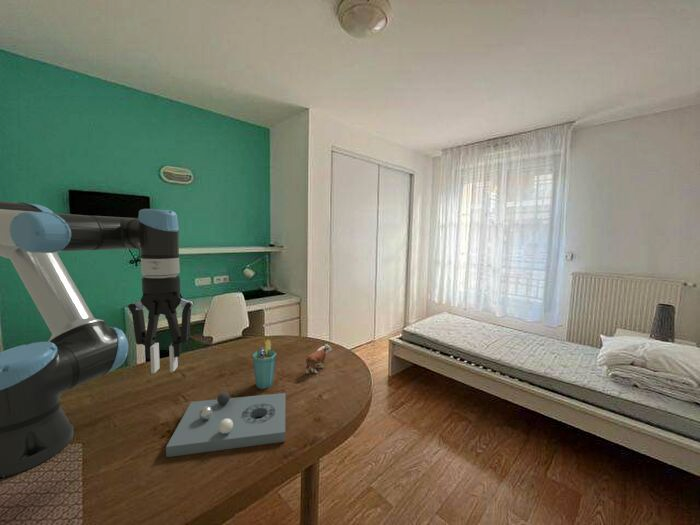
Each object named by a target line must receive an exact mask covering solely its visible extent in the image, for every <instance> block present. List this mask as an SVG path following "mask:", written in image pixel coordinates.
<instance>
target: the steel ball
mask: <svg viewBox="0 0 700 525" xmlns="http://www.w3.org/2000/svg"><path fill="white" fill-rule="evenodd" d="M212 414H213V410H212V408H211V407H209V406H205V407H203V408H202V409H201V410H200V412H199V418H200V419H201V420H207V419H209V418H210V417H211V416H212Z"/></svg>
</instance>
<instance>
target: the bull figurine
mask: <svg viewBox="0 0 700 525" xmlns="http://www.w3.org/2000/svg"><path fill="white" fill-rule="evenodd" d="M332 351H333V349H332V347H331V346H330V345H328V343H325V344H322V346H320V347H319V348H318V349H317V350H315V351H314V352H312V353H311V354H309V355H308V356H307V357H306V359H305V362H306V367H305V370H306V371H305V373H306V374H307V375H308V374H310V372H309V368H310V370H311V372H312V373H313V372H314V374H318V373H319V372H318V371H317V369H316V366H317V365H318V366H320V368H321V369H324V368H323V367H324V363H325V360H326V357H327V356H326V355H327V354H328V353H329V352H332Z"/></svg>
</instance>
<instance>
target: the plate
mask: <svg viewBox="0 0 700 525" xmlns="http://www.w3.org/2000/svg"><path fill="white" fill-rule="evenodd" d="M205 406H209V407H211V408H212V410H213V414H212V416H211V417H210V418H209V419H207V420H201V419H200V418H199V412H200V410H201V409H202V408H203V407H205ZM257 417H261V418H257ZM227 418H228V419H231V420H232V422H233V428H232V430H231V431H230V432H229V433H226V434H222V433H221V432H220V431H219V424H220V422H221V421H222V420H224V419H227ZM284 442H286V392H279V393H272V394H271V393H270V394H269V393H268V394H260V395H259V394H258V395H248V396H240V397H239V396H238V397H230V399H229V401H228V402H227V403H226V404H224V405H221V404H219V403H218V401H217V398H216V399H206V400H205V399H204V400H197V401H190V403H189V405H188V406H187V409H186V410H185V413H184V414H183V416H182V417H181V420H180V422H178V424H177V427H176V428H175V430H174V432H173V434H172V436H171V437H170V439H169V441H168V443H167V444H166V447H165V452H166V453H165V454H166V455H165V456H166V458H169V457H171V458H172V457H178V456H179V457H180V456H185V455H187V456H188V455H193V454H200V453H201V454H202V453H208V452H217V451H225V450H229V449H237V448H238V449H239V448H246V447H254V446H260V445H261V446H262V445H268V444H278V443H284Z"/></svg>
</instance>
